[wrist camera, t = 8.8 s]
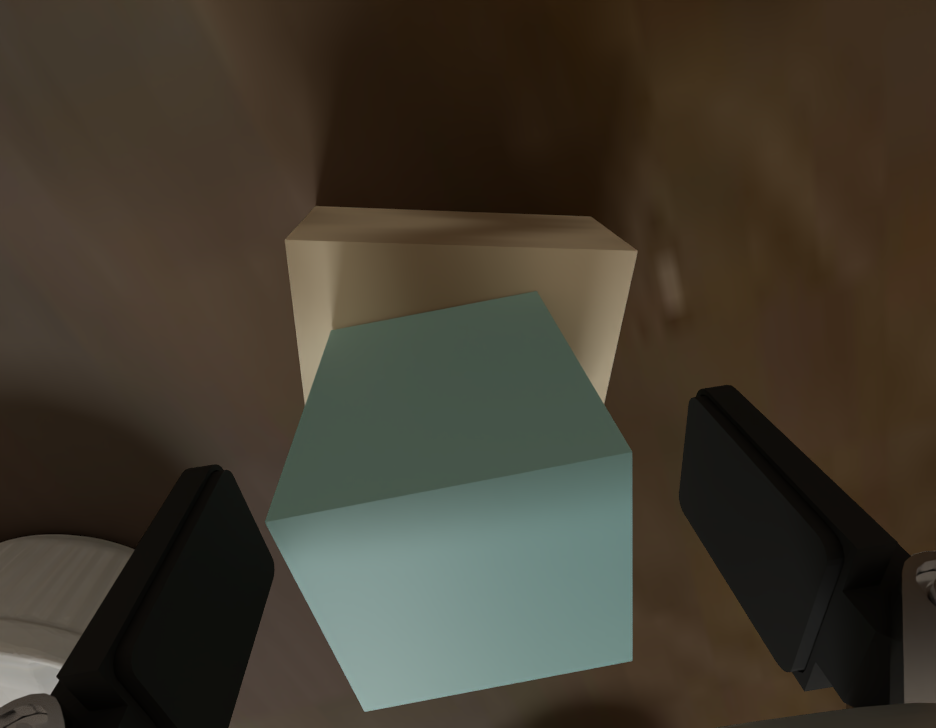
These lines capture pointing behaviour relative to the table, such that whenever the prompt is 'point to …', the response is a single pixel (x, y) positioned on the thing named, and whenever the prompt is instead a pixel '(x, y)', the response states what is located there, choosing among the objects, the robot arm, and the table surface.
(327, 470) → the block
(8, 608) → the ramekin
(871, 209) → the table surface
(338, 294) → the base
